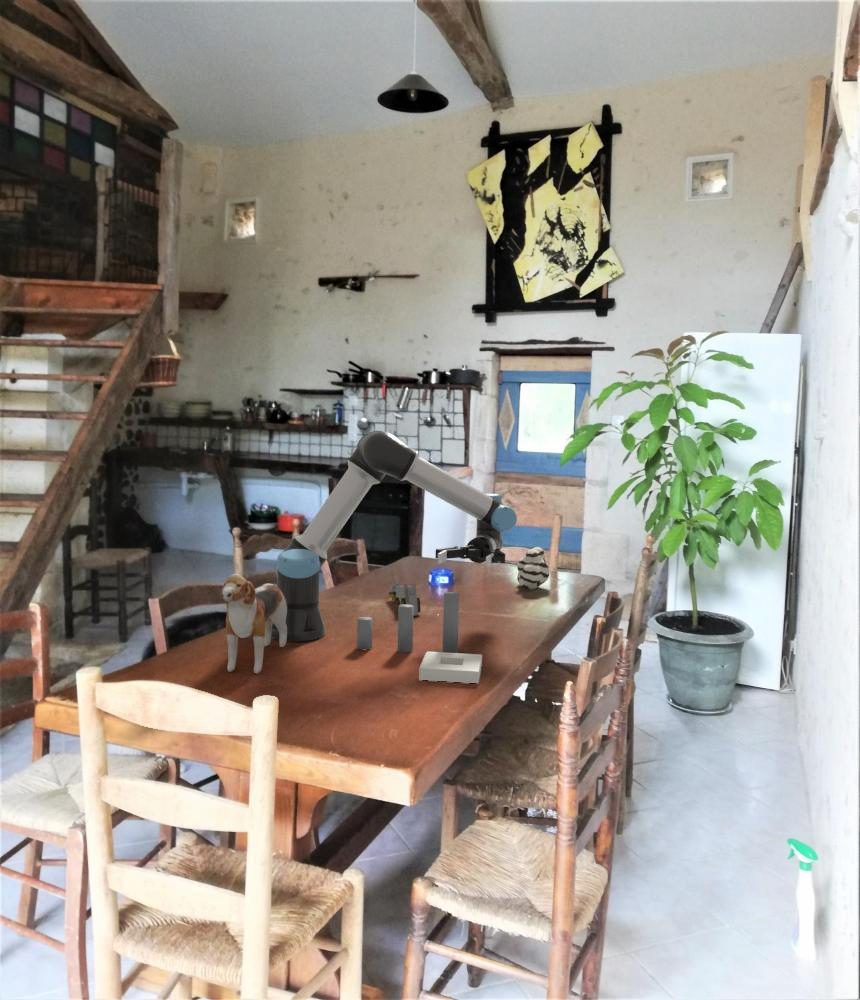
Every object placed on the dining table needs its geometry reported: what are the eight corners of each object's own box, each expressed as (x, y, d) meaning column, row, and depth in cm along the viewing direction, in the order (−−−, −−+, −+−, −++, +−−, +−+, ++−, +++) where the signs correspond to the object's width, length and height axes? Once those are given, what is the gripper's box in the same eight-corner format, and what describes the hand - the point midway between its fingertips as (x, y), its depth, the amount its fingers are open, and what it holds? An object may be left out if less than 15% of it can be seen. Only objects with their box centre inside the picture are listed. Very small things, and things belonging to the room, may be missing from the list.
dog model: (204, 687, 182) (204, 577, 179) (265, 639, 222) (266, 549, 219) (245, 690, 180) (245, 579, 178) (299, 641, 221) (300, 551, 218)
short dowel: (355, 649, 214) (356, 620, 213) (358, 645, 218) (359, 616, 217) (370, 650, 214) (370, 620, 213) (373, 646, 218) (373, 617, 217)
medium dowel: (396, 652, 213) (397, 607, 212) (398, 647, 217) (399, 604, 216) (411, 653, 212) (412, 608, 211) (413, 648, 216) (414, 604, 215)
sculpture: (519, 582, 312) (520, 543, 310) (551, 584, 309) (553, 545, 308) (511, 593, 290) (513, 552, 289) (546, 596, 287) (548, 554, 286)
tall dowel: (441, 654, 211) (443, 594, 210) (443, 650, 215) (444, 591, 214) (456, 655, 211) (458, 595, 209) (458, 651, 215) (459, 592, 213)
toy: (404, 615, 251) (403, 583, 252) (388, 613, 274) (387, 583, 275) (421, 615, 253) (420, 583, 254) (404, 612, 275) (403, 583, 276)
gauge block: (419, 680, 190) (419, 667, 190) (426, 662, 204) (426, 651, 204) (478, 684, 188) (478, 671, 188) (481, 666, 202) (482, 654, 202)
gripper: (522, 564, 237) (507, 577, 217) (440, 558, 244) (419, 570, 224) (522, 538, 236) (508, 549, 216) (441, 534, 244) (419, 543, 223)
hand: (462, 560), depth 220 cm, fingers open, 13 cm apart
